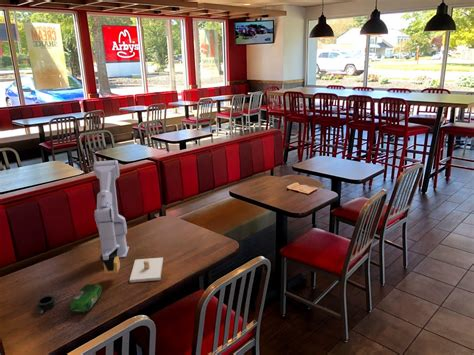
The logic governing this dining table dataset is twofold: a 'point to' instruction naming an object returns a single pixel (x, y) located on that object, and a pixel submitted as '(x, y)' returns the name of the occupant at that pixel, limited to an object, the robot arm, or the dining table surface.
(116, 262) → the tan wooden block
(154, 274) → the post plate
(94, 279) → the dining table surface
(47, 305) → the duct tape
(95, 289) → the snack package
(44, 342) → the dining table surface
